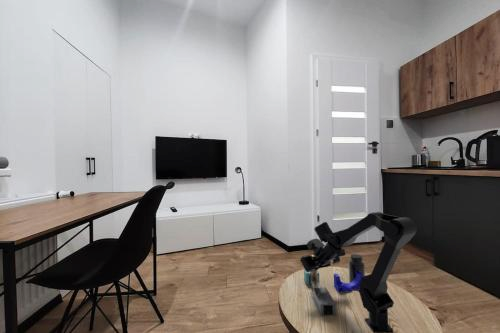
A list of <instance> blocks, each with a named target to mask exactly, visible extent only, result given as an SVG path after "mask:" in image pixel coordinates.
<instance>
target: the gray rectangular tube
mask: <svg viewBox="0 0 500 333" xmlns="http://www.w3.org/2000/svg"><path fill="white" fill-rule="evenodd" d="M312 299H313V301H314V303H315V306H316V308H317V311H318V313H319V315H320V316H321V317H323V316H324V317H326V316H327V317H328V316H332V317H333V316H336V315H337V314H336V313H337V312H336V309H337V308H336V302H335V301H334V299H333V297H332V296H331V293H330V292H329V291H328V289H327V287H321V288H313V287H312Z"/></svg>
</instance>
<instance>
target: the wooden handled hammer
mask: <svg viewBox="0 0 500 333" xmlns="http://www.w3.org/2000/svg"><path fill="white" fill-rule="evenodd" d="M309 255H310V256H312V257H316V256H315V255H314V254H309ZM309 281H310V283H311V284H310V285H311V287H312V289H313V288H322V286H321V285H320V282H319V283H318V281H317V270H313V271H311V272H310V276H309Z"/></svg>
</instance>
